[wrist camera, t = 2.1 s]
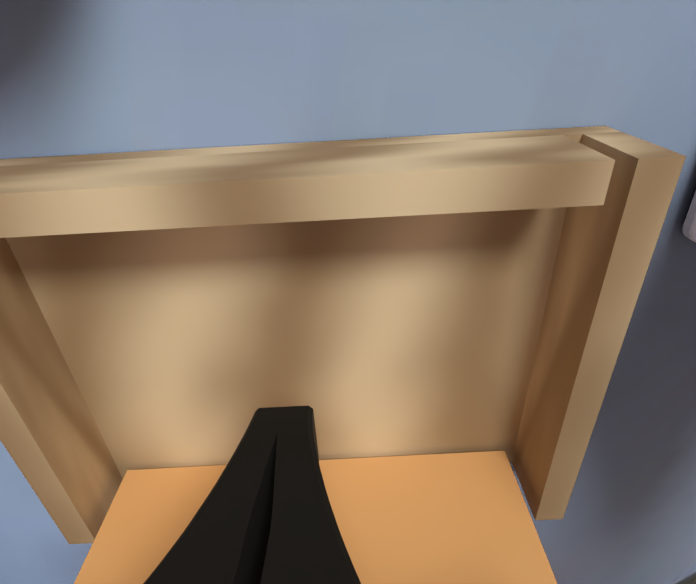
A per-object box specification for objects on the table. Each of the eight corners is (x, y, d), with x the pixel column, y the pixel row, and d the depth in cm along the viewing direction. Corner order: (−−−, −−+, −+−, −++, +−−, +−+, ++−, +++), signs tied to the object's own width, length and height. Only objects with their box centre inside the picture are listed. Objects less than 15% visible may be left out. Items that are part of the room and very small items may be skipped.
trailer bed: (605, 125, 12) (685, 156, 9) (528, 445, 19) (562, 518, 16) (-44, 161, 12) (-157, 202, 10) (108, 466, 19) (69, 543, 16)
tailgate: (504, 450, 18) (558, 587, 13) (499, 476, 18) (549, 613, 14) (127, 469, 18) (60, 612, 13) (138, 495, 18) (79, 636, 14)
